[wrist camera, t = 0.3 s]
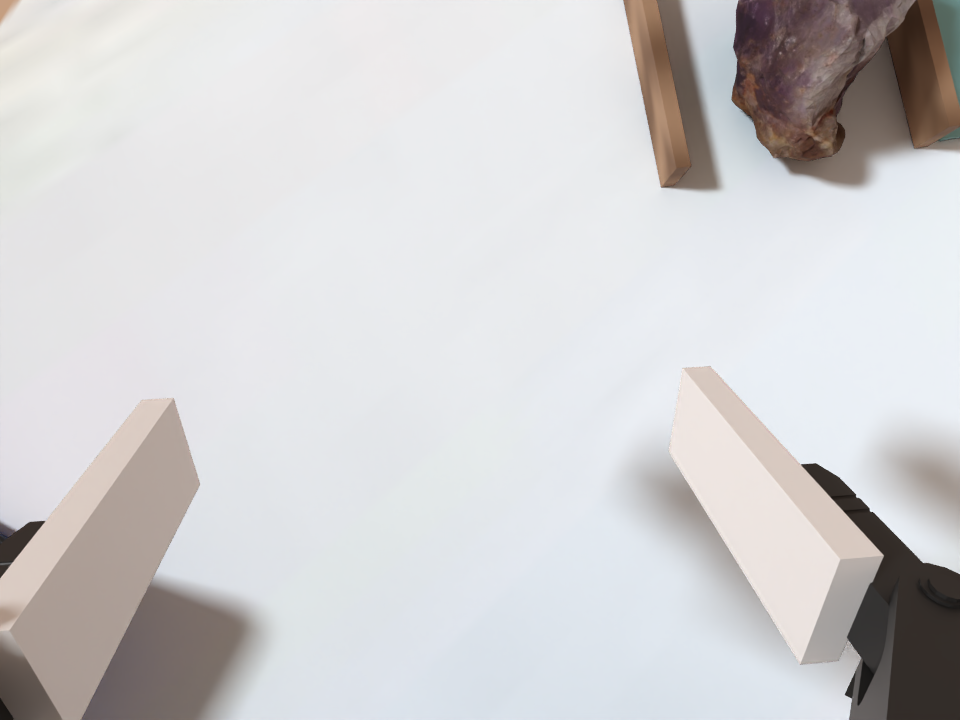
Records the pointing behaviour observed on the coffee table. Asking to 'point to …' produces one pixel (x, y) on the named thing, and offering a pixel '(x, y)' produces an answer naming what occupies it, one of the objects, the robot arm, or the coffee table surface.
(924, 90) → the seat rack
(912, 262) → the coffee table surface
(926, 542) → the coffee table surface
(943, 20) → the marked pad
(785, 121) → the rock
